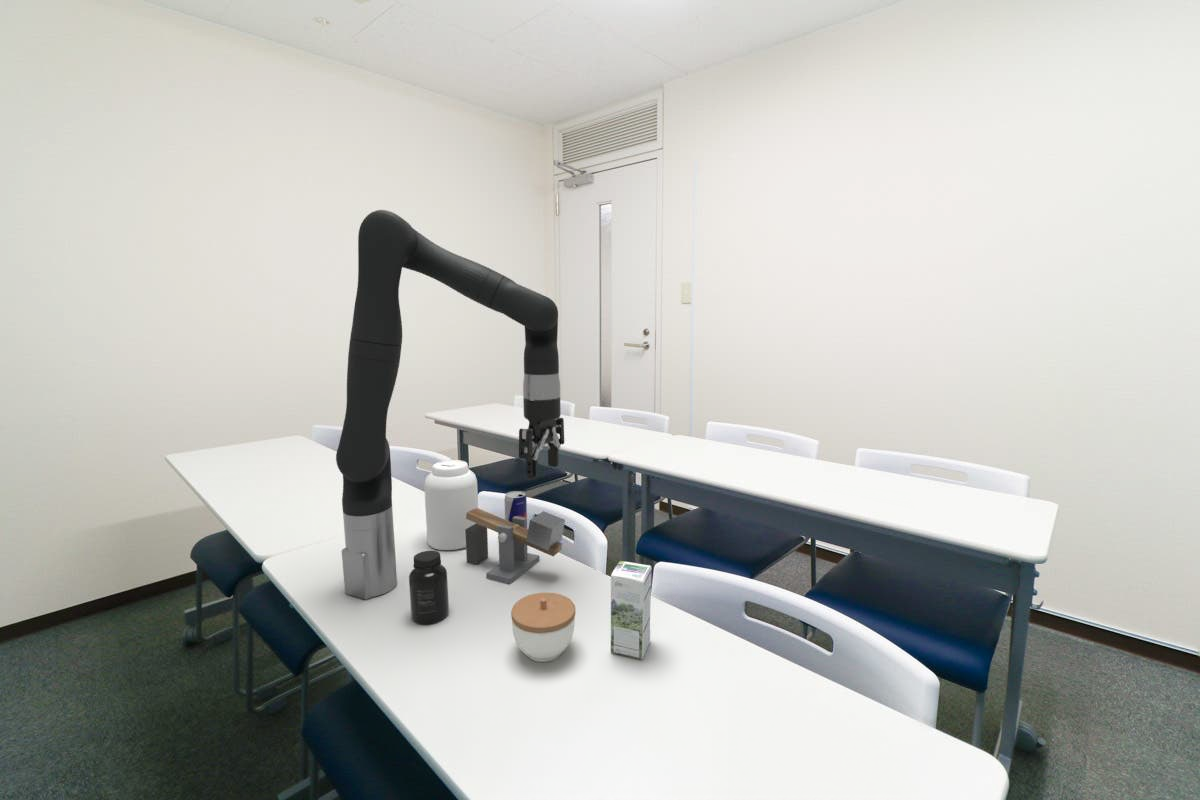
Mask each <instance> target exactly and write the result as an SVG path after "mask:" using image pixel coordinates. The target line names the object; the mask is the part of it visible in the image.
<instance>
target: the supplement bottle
mask: <svg viewBox="0 0 1200 800" xmlns="http://www.w3.org/2000/svg"><path fill="white" fill-rule="evenodd" d="M408 582H409V583H408V585H409V600H410V612H411V614H410V615H411V619H412V620H413V622H415V623H417V624H421V625H430V624H434V623H438V622H440V621H442V620H443V619H445V618H446V617H447V616H448V614H449V612H450V607H449V606H450V604H449V603H450V602H449V586H448V585H449V584H448V571H447V568H446V567H445V566H444V565H442V559H441V553H440V552H439V551H438V550H431V549H429V550H423V551H420V552H418V553H416V554H415V555H414V556H413V569H412V570H411V571H410V573H409V575H408Z"/></svg>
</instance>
